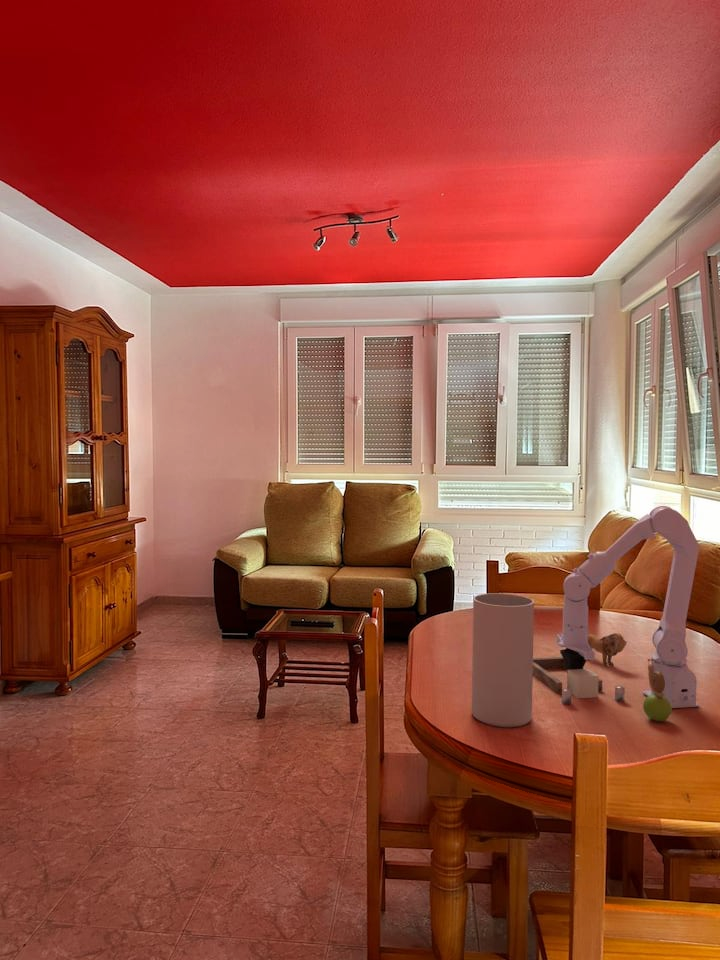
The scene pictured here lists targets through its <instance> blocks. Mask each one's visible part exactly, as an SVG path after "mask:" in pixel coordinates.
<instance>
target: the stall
mask: <svg viewBox="0 0 720 960" xmlns="http://www.w3.org/2000/svg"><path fill="white" fill-rule="evenodd" d="M547 669H548V670H549V669H564V670H566V671H567V669H566V665H565V662H564V659H563V657H562V656H555V657H554V656H552V657H533V676H534V677H535V678H537V679H538V680H539V681H541V682H542V683H543V684H544V685H546V686H547V687H549V689H551V691H554V692H555V693H556V694H562V689H563V682H562V681H561V680H560V679H558V678H557V677H556V676H554V675H553V674H551V673H549V671H547ZM583 669H585V668H584V667H583ZM602 691H603V679H601V678H600V677H598V692H602Z"/></svg>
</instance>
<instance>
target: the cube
mask: <svg viewBox="0 0 720 960" xmlns="http://www.w3.org/2000/svg"><path fill="white" fill-rule="evenodd" d="M566 673H567V672H566ZM566 675H567V677H566V680H567V681H566V683H567V684H566V688H567V689H571V690H572V692H571V695H573V697H575V698H577V699H589V698H590V699H592V698H599V691H598V678H600V677H599V675H598V674H596V673H595V672H593V671H592V670H590V669H588V668H584V669H573V670H568V673H567V674H566Z"/></svg>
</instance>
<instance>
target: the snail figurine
mask: <svg viewBox="0 0 720 960" xmlns="http://www.w3.org/2000/svg"><path fill="white" fill-rule="evenodd" d="M652 661H653V659H652V658H647V662H652ZM647 669H648V682H649V687H650V690H651V689H652V691H653V693H654V694H651V695H649V696H646V697H645V698H644V700H643V703H642V708H643V711H644V713H645V715H646V716H647V717H648V718H649V719H650V720H653V721H655V722H664V721H666V720H668V719H669V718H670V716H671V714H672V709H673V708H671V704H670V702H669V701H668V699H667V698H665V697H664V693H662V691H663V690H664V688H665V679H664V676H663V675H662V673H661V672H659V671H655V672H654V666H653V665H652V663H651V664H650V663H649V664H648V666H647Z"/></svg>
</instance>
